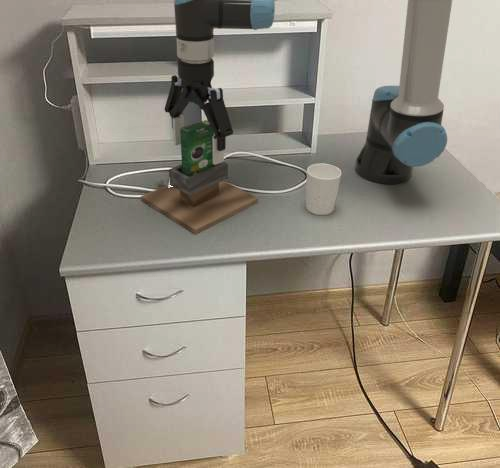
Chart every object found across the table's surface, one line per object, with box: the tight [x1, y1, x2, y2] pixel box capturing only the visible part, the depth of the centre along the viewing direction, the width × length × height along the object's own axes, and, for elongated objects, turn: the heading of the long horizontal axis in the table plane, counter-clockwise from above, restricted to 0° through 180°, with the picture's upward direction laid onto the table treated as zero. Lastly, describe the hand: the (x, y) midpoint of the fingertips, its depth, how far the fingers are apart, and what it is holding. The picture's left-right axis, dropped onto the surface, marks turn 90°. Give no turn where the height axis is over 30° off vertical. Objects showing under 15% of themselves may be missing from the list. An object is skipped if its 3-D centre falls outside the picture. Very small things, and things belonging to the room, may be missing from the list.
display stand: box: [140, 160, 259, 235], centre depth 125 cm, size 20×20×10 cm
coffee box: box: [180, 119, 215, 177], centre depth 120 cm, size 8×3×13 cm, turn 135°
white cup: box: [305, 163, 342, 216], centre depth 124 cm, size 8×8×10 cm
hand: (198, 152), depth 120 cm, fingers open, 13 cm apart
